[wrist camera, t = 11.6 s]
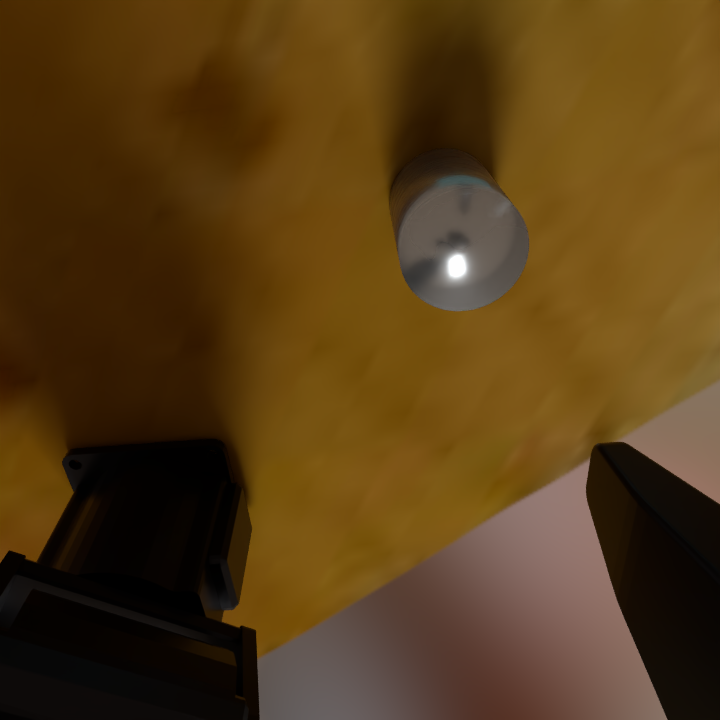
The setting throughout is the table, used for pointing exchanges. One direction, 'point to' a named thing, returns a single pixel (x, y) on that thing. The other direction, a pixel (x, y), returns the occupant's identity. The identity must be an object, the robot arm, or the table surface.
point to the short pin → (456, 231)
